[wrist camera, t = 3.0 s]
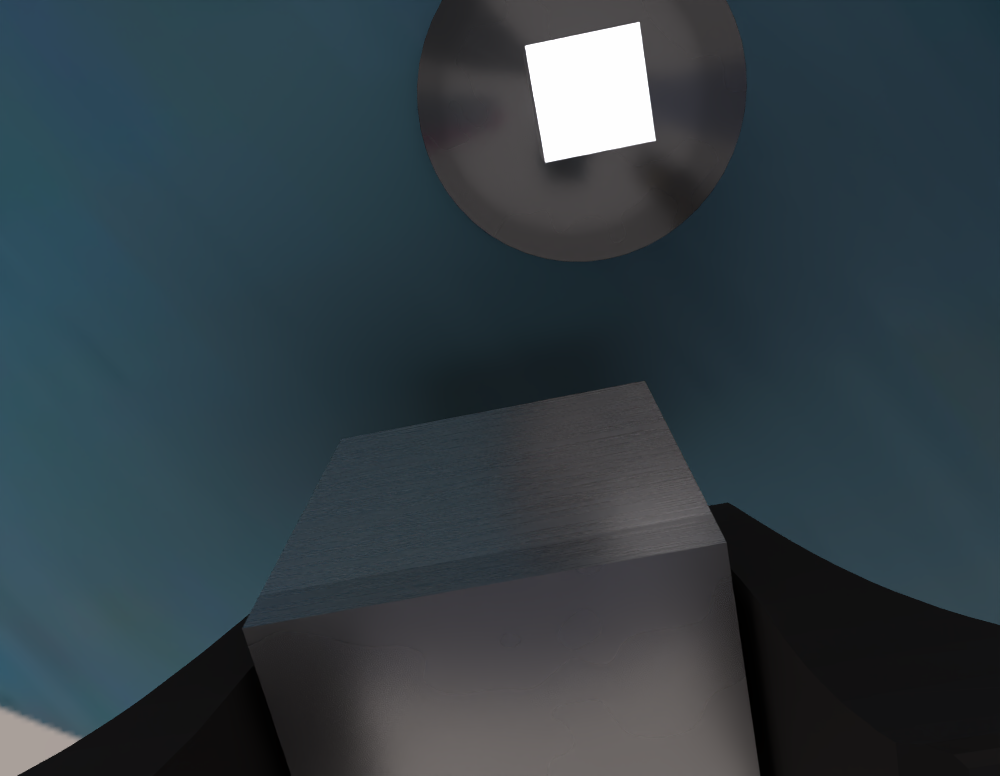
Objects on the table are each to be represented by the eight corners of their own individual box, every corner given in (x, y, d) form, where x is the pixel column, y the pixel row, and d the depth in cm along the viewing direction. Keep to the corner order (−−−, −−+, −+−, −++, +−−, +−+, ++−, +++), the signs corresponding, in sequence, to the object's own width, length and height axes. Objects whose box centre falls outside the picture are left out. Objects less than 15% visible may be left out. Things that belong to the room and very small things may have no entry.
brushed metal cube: (644, 381, 13) (727, 542, 8) (688, 647, 14) (781, 925, 9) (340, 439, 13) (242, 628, 8) (412, 694, 15) (362, 986, 10)
